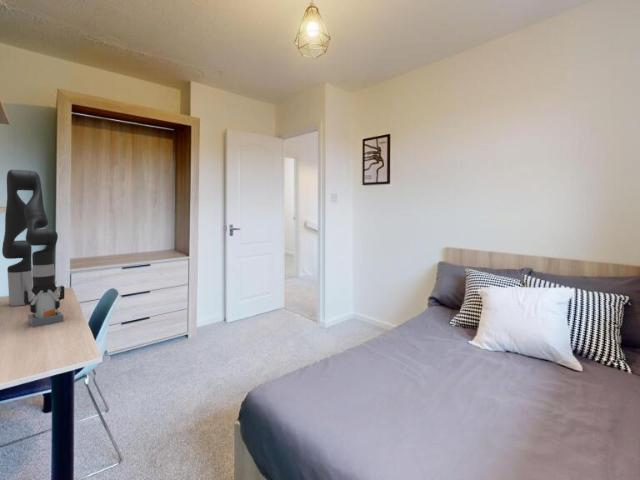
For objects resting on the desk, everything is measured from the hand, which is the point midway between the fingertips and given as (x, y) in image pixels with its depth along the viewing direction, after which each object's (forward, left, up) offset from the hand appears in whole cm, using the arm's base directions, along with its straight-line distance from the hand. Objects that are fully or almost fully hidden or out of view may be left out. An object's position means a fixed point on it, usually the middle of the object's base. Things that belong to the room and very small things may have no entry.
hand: (45, 311), depth 143 cm
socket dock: (0, 0, -5) cm, 5 cm away
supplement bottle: (-29, +7, -5) cm, 30 cm away
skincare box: (0, 0, -4) cm, 4 cm away
